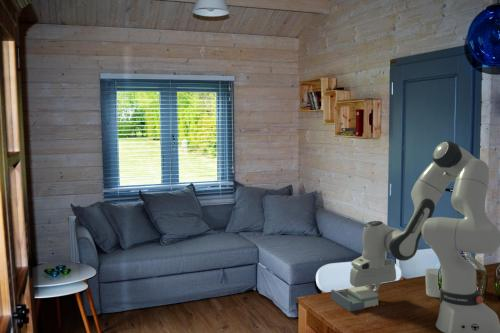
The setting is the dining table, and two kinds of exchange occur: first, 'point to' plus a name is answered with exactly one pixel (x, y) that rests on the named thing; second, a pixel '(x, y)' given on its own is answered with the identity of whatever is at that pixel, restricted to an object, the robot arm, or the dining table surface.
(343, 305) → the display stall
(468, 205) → the robot arm
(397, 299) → the dining table surface
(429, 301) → the dining table surface
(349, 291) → the cream rectangular block
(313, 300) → the dining table surface
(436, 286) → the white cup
